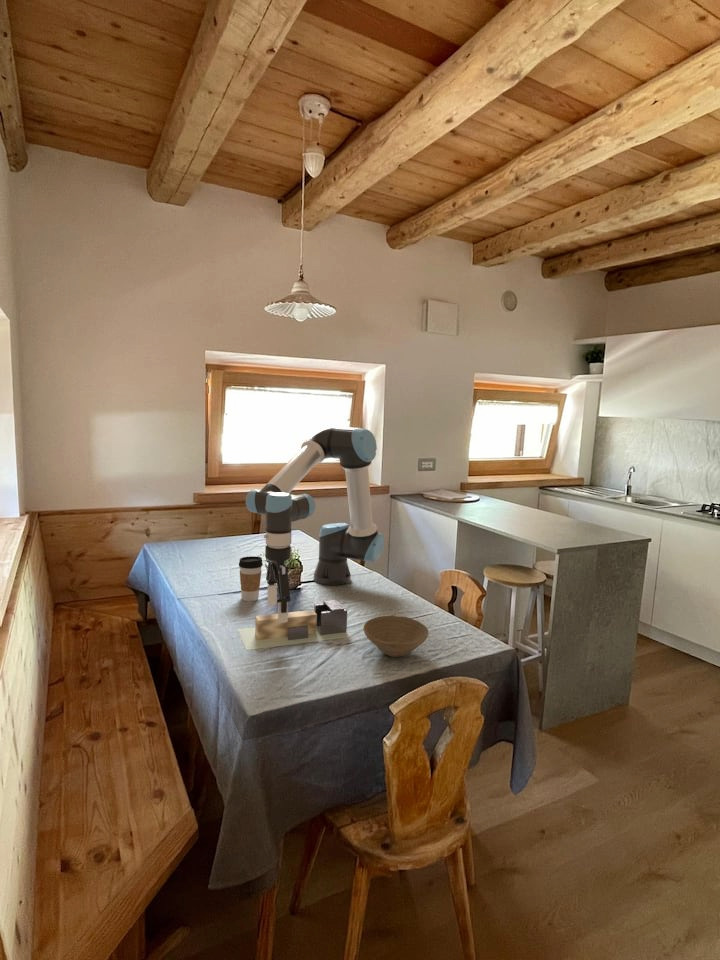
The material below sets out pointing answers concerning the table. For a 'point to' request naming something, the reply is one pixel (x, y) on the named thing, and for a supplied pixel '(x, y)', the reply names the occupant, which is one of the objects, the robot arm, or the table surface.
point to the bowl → (395, 634)
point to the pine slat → (283, 624)
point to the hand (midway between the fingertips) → (277, 613)
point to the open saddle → (297, 632)
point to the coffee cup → (250, 577)
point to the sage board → (283, 639)
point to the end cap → (331, 617)
